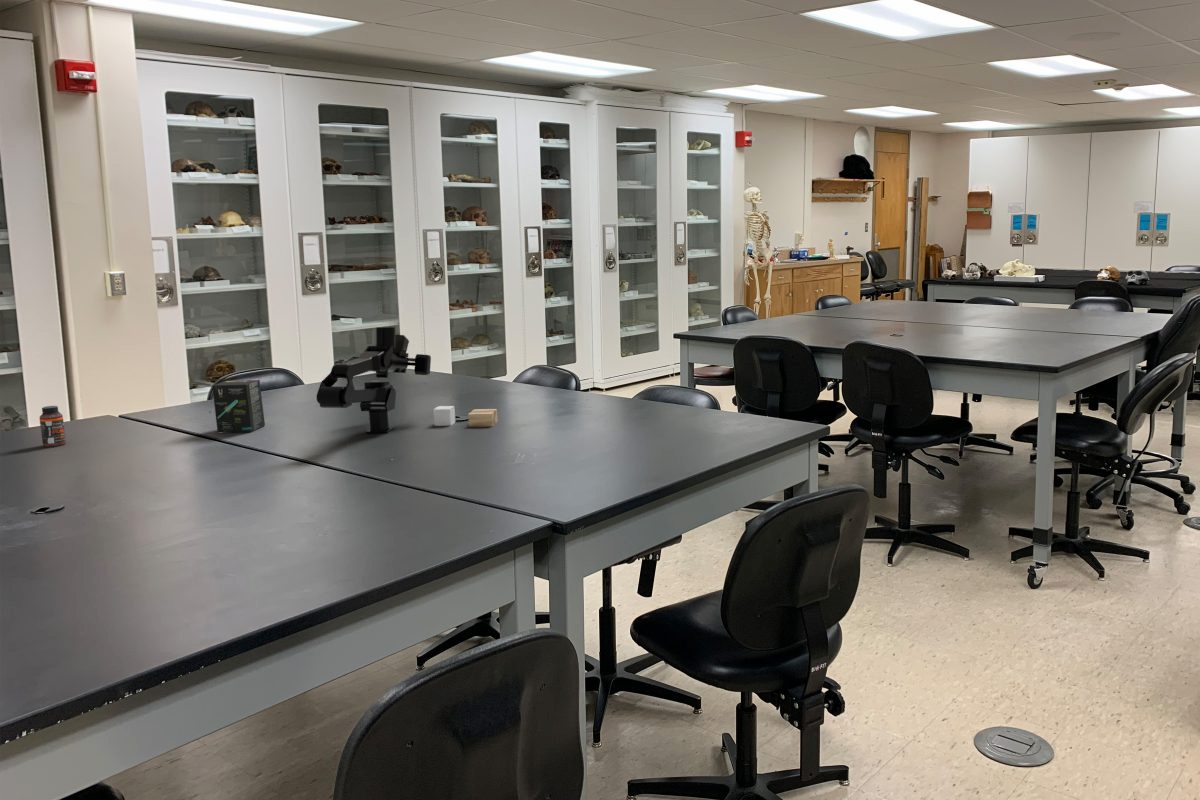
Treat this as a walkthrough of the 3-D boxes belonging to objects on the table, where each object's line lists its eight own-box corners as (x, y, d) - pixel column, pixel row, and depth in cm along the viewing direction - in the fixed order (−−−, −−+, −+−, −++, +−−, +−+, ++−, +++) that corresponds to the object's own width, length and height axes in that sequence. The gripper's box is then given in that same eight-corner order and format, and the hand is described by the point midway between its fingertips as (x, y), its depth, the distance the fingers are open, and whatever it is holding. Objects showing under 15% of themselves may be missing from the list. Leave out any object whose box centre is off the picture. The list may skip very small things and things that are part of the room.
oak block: (492, 427, 283) (491, 413, 282) (469, 427, 284) (468, 414, 283) (497, 422, 290) (496, 409, 289) (474, 422, 290) (473, 409, 290)
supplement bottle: (56, 447, 277) (50, 408, 275) (38, 447, 278) (32, 408, 276) (71, 442, 283) (65, 404, 281) (53, 442, 284) (48, 404, 282)
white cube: (450, 425, 286) (449, 409, 285) (434, 426, 287) (433, 409, 286) (455, 422, 291) (454, 405, 290) (439, 422, 292) (438, 406, 291)
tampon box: (265, 426, 296) (260, 378, 294) (252, 432, 287) (246, 384, 285) (231, 426, 298) (226, 379, 295) (216, 433, 289) (211, 384, 286)
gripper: (420, 337, 286) (441, 340, 301) (363, 333, 290) (386, 336, 306) (418, 374, 286) (439, 375, 301) (360, 370, 291) (384, 372, 306)
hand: (412, 364), depth 303 cm, fingers open, 9 cm apart
